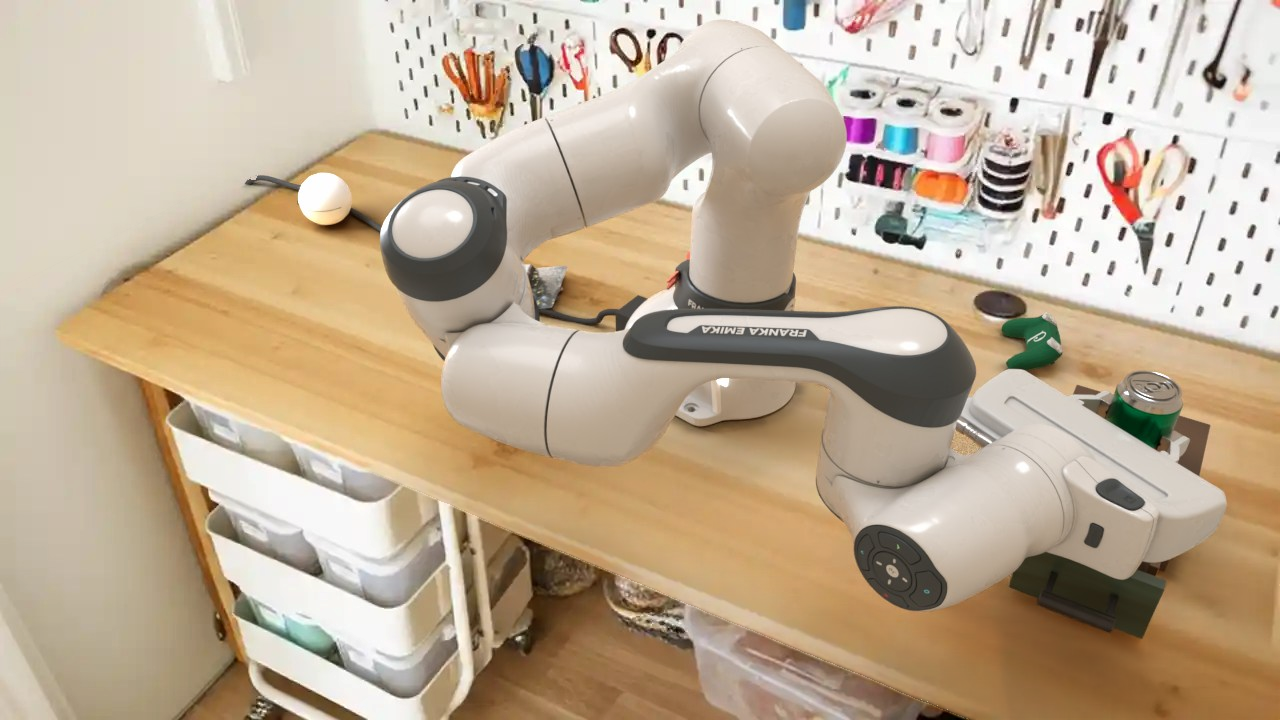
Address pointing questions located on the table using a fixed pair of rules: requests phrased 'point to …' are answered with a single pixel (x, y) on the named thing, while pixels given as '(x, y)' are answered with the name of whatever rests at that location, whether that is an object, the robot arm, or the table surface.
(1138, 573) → the drawer
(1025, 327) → the gaming controller
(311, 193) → the white egg shape
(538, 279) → the statue
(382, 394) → the table surface
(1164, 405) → the soda can
